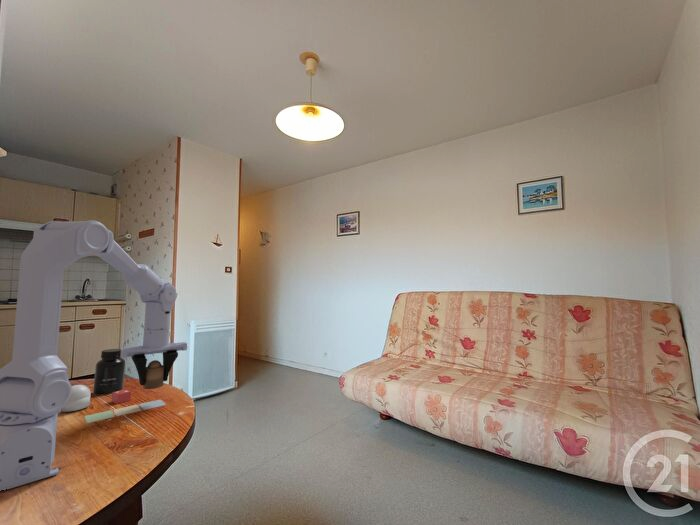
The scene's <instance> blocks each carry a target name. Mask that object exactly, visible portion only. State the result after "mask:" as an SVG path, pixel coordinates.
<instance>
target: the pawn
mask: <svg viewBox="0 0 700 525" xmlns="http://www.w3.org/2000/svg"><path fill="white" fill-rule="evenodd" d="M164 382H165V381H164V365H163V364H162V362H160V361H159V360H157V359H156V360H152V361H150V362H149V363H148V364H147V365H146V370H145V385H142V389H144V390H154V389H159V388H162V387H163V386H164Z"/></svg>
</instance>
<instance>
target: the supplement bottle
mask: <svg viewBox="0 0 700 525" xmlns="http://www.w3.org/2000/svg"><path fill="white" fill-rule="evenodd" d="M121 349H122V348H108V349H104V350H102V351H101V355H100V358H101V359H100V360H99V361H97V362H96V363H95V369H94V370H95V371H94V380H93V392H92V393H93V395H98V396H99V395H101V396H102V395H109V394H112V392H116V391H120V390H124V381H125V372H126V359H125V358H121V357H120V356H121Z"/></svg>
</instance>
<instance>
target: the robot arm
mask: <svg viewBox="0 0 700 525" xmlns="http://www.w3.org/2000/svg"><path fill="white" fill-rule="evenodd" d="M89 256H97V257H98V258H100V259H101V260H103V261H104V262H105V263H107V264H108V265H110V266H111V267H112V268H113V269H116V270H117V271H118V272H120V273H121V274H123V281H124V283H125V284H127V285H128V286H129V287H131V288H132V289H133V290H135V291H136V292H137V293H138V294H139V298H140V300H141V302H142V303H144V304H145V310H144V312H145V313H144V324H143V325H144V326H143V327H144V328H143V338H142V339H143V341H142V345H139V346H133V347H126V348H120V349H121V356H120V357H121V358H123V359H125V358H129V357H130V358H131V360H132V362H133V364H134V366H135V369H136V372H137V375H138V379H139V380H138V381H139V385H140V386H143V385H145V370H146V367H147V362H148V358H146V356H147V355H154V354H155V355H156V354H162V365H164V381H163V382H168V379H169V375H170V372H171V370H172V367H173V365H174V363H175V361H176V360H177V359H178V356H179V352H178V351H187V350H188V343H187V342H186V341H183V342H170V331H171V328H170V327H171V314H172V313H171V312H172V311H173V309H174V303H175V302H176V301H177V298H178V292H177V289H176V287H175V285H173V284H172V283H170V282H166V281H164V280H163V279H162V277H161V276H159V275H157V274H156V273H155V272H154V271H153V270H152V267H151V266H150V265H149V264H144V263H138V264H137V262H136V261H134V259H132V257H131V256H130V255H129V254H128V253H127V252H126V251H125V250H124V249H123V248H122V246H120V245H119V244H118V243H117V242H116V241H115V240H114V233H113V231H111V230H109V229H108V228H107V227H106V226H105V224H103V223H102V222H100V221H97V220H85V221H84V220H81V221H79V220H78V221H77V220H76V221H73V220H72V221H69V220H68V221H61V220H52V221H51V220H50V221H47V222H45V223H43V224H41V225H38V226H37V227H35V228H34V229H33V238H32V239H31V240H30V241H29V244H28V245H27V246H26V248H25V249H24V250H23V252H22V253H21V256H20V263H19V275H18V276H19V277H18V285H17V286H18V287H17V297H16V298H17V299H16V310H15V319H14V320H15V322H14V333H13V343H12V344H13V346H12V358H11V361H10V362H8V363H7V364H6V365H4V366H2V367H1V368H0V491H1V490H4V491H6V489H7V490H10V489H13V488H16V487H20V486H23V485H26V484H30V483H33V482H37V481H39V480H42V479H46V478H49V477H53V476H56V475H57V474H59V472H60V471H59V466H58V467H54V468H52V463H53V462H54V461H55V453H56V452H55V451H56V439H57V438H56V437H57V428H58V417H59V416H58V415H59V414H60V413H61V412H62V411H61V409H62V408H63V407H64V406H65V404H66V403H67V402H68V400H69V398H70V395H71V391H72V387H71V386H72V384H71V382H70V380H69V377H68V371H69V370H68V366H66V364H65V363H64V362H63V361H62V360H61V359H60V358H59V357H58V351H59V350H58V349H59V337H60V336H59V334H60V326H61V325H60V323H61V310H62V309H61V308H62V298H63V286H64V273H65V272H64V271H65V269H66V268H67V267H69V266H71V265H72V264H74V263H75V262H76V261H78V260H80V259H82V258H85V257H89ZM1 492H2V491H1Z"/></svg>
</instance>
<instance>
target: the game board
mask: <svg viewBox="0 0 700 525" xmlns="http://www.w3.org/2000/svg"><path fill="white" fill-rule="evenodd" d="M165 406H167V404H166V403H165V402H164V401H163V400H162V399H161V398H160V399H156V400H151V401H147V402H142V403H138V404H134V405H133V404H132V405H129V406H124V407H119V408H115V409H112V410H111V409H109V410H107V411H101V412H96V413H93V414H88V415H84V416H83V417H84V419H85V422H86V424H91V423H94V422H100V421H103V420H108V419H112V418H115V416H116V417H121V416H124V415H129V414H134V413H137V412H142V411H146V410H151V409H154V408H159V407H165Z"/></svg>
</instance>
